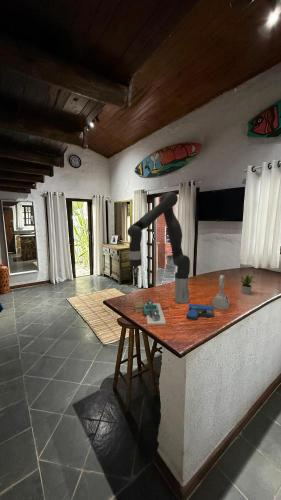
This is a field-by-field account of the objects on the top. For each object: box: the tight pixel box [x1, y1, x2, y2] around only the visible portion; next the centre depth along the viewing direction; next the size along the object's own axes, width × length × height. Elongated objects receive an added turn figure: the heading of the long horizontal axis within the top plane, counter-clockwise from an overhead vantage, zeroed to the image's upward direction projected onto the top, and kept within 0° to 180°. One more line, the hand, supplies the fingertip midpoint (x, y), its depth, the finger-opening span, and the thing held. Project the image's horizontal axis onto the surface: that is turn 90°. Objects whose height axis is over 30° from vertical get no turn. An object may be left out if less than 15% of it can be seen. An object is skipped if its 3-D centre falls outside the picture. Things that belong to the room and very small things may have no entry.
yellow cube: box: [134, 301, 144, 313], centre depth 134 cm, size 5×5×5 cm
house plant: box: [238, 272, 257, 296], centre depth 158 cm, size 14×14×16 cm
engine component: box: [212, 274, 230, 310], centre depth 137 cm, size 11×20×10 cm
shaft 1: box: [146, 298, 154, 305], centre depth 137 cm, size 8×4×4 cm, turn 2°
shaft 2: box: [149, 309, 160, 321], centre depth 121 cm, size 8×4×4 cm, turn 22°
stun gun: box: [185, 303, 215, 321], centre depth 125 cm, size 4×16×15 cm
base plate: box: [144, 302, 167, 326], centre depth 129 cm, size 10×28×1 cm, turn 2°
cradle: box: [143, 304, 159, 316], centre depth 129 cm, size 8×8×3 cm
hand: (136, 283), depth 133 cm, fingers open, 8 cm apart
